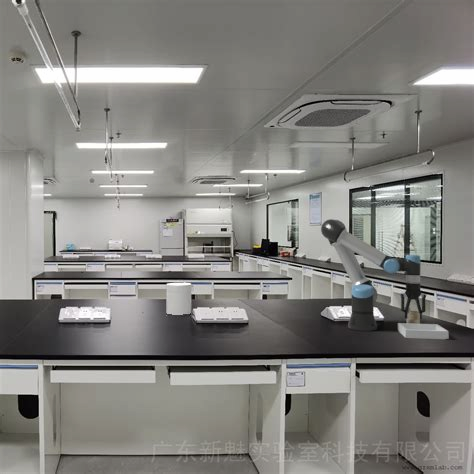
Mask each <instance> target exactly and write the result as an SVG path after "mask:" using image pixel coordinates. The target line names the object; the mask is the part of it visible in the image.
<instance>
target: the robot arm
mask: <svg viewBox="0 0 474 474" xmlns="http://www.w3.org/2000/svg"><path fill="white" fill-rule="evenodd" d="M320 232H321V234H322V236H323V237H325V239H327V240H328V242H329V244H330V246H331V247H334V248H335V251H336V253H337V255H338V257H339V259H340V262H341V263H342V266H343V268H344V269H345V272H346V274H347V276H348V279H349V280H350V282H351V286H350V288H351V292H350V293H351V315H350V317H349V321H348V323H347V325H348V329H350V330H353V331H354V330H355V331H360V332H366V331H367V332H368V331H369V332H370V331H371V332H372V331H376V330H377V329H378V325H377V324H378V323H377V321H376V318H375V316H374V314H375V313H374V309H375V307H374V306H375V305H374V303H375V302H376V301H377V300H378V291H377V289H376V287H374V286H373V284H372V283H373V282H372V281H371V279H370V278H367V277H366V276H365V272H364V270H363V269H362V267H361V265H360V263H359V261H358V258H357V257H356V254H358V255H359V256H361V257H363V258H364V259H366V260H368V261H370V262H371V263H373V264H374V265H376V266H378V267H380V268H381V269H382V270H383V271H384V272H386V273H388V274H396V273H398V272H402V273H405V282H406V283H405V291H404V292H402V293H400V294H399V295H400V310H401V312H402V313H405V314H404V319H405V321H406V323H409V313H408V309H409V307H410V305H411V301H412V300H415V304H416V306H417V307H416V308H417V310H418V312H419V324H421V320H422V318H423V313H425V312H426V297H427V294H425V293H422V292H421V266H422V265H421V256H420V255H418V254H406V255H405V257H403V258H401V257H400V258H399V257H391V256H390V255H388V254H386V253H384V252H383V251H381V250H379V249H378V248H376V247H374V246H372V245H370V244H369V243H367V242H366V241H365V240H362V239H360V238H359V237H357V236H355V235H354V234H352V233H350V232H348V231H347V228H346V226H345V224H344V223H343V222H342V221H341V220H338V219H331V218H330V219H327V220H325V221H324V222H323V223H322V225H321V228H320ZM355 253H356V254H355ZM405 297H407V298H406V304H405ZM419 297H421V303H420V299H419ZM404 307H405V310H404Z"/></svg>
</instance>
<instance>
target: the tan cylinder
mask: <svg viewBox="0 0 474 474" xmlns="http://www.w3.org/2000/svg"><path fill="white" fill-rule="evenodd" d="M408 313H409V323H411V324H419V311H417V310H411V311H408Z"/></svg>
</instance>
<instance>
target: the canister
mask: <svg viewBox="0 0 474 474" xmlns="http://www.w3.org/2000/svg"><path fill="white" fill-rule="evenodd" d="M165 296H166V298H165V299H166V305H165V306H166V309H165V310H166V311H165V312H166V313H167V314H172V315H183V314H190V313H191V314H192V283H190V282H171V283H170V282H169V283H166V295H165Z"/></svg>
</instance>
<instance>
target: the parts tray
mask: <svg viewBox="0 0 474 474" xmlns="http://www.w3.org/2000/svg"><path fill="white" fill-rule="evenodd" d="M397 331H398V333H400V334H401V335H402V336H403V337H404V338H405V339H419V340H422V339H423V340H445V339H450V337H449V330H447V329H446V328H444V327H442V326H441V325H439V324H437V323H436V324H435V323H420V324H411V323H405V322H404V323H402V322H398V323H397Z"/></svg>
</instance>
